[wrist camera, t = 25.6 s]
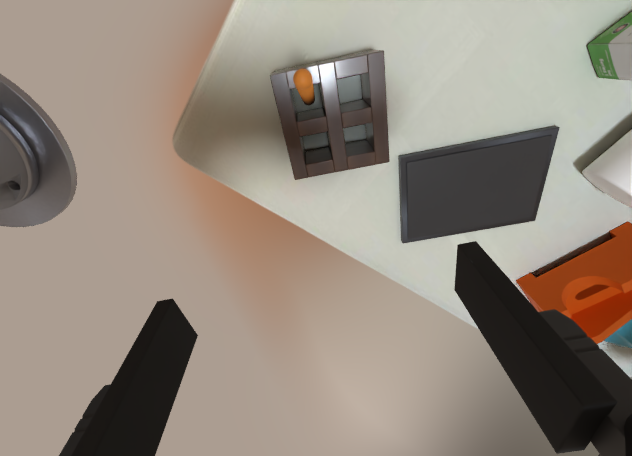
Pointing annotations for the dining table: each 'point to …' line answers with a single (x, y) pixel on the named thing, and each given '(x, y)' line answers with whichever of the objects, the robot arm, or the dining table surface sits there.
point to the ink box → (614, 51)
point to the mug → (614, 170)
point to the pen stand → (335, 115)
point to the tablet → (474, 184)
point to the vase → (622, 336)
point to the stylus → (304, 85)
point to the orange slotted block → (589, 286)
